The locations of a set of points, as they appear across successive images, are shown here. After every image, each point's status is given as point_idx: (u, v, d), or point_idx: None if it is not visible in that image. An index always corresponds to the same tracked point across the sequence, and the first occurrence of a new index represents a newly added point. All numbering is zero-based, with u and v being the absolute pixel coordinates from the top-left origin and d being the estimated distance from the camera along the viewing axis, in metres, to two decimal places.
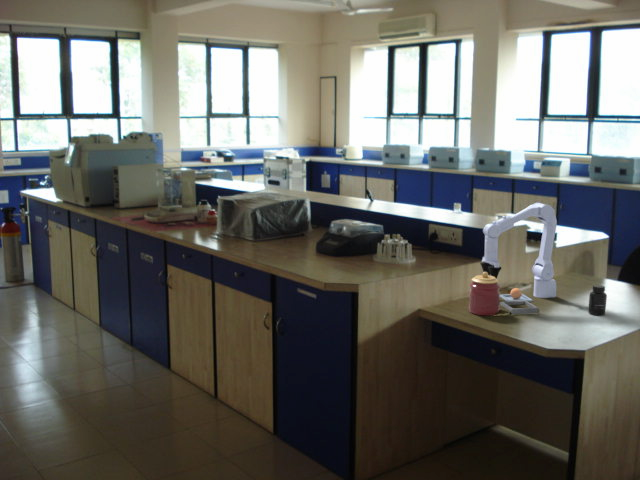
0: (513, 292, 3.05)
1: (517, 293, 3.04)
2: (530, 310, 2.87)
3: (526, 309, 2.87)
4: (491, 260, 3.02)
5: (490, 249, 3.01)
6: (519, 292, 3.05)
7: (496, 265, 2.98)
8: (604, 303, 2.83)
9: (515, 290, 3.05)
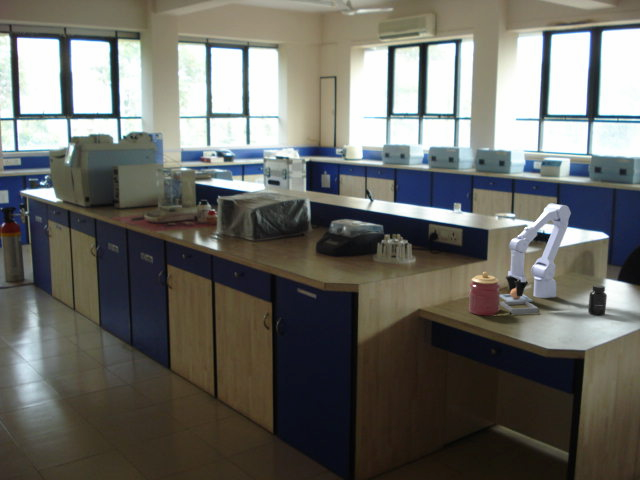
0: (513, 292, 3.05)
1: None
2: (530, 310, 2.87)
3: (526, 309, 2.87)
4: (517, 274, 3.02)
5: (518, 264, 3.02)
6: None
7: (523, 280, 2.98)
8: (604, 303, 2.83)
9: (515, 290, 3.05)
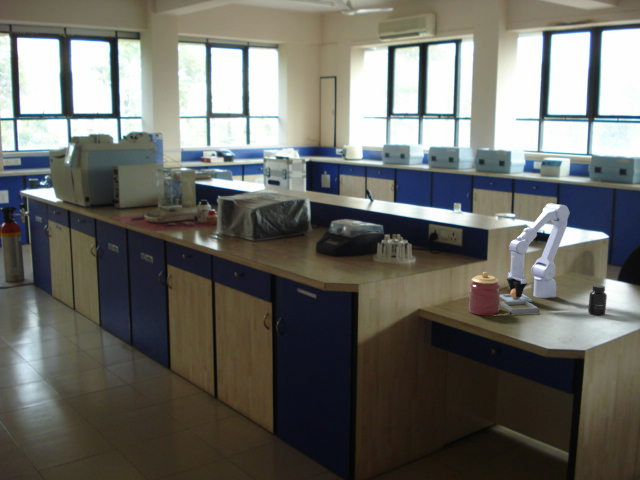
0: (513, 292, 3.05)
1: None
2: (530, 310, 2.87)
3: (526, 309, 2.87)
4: (517, 276, 3.03)
5: (518, 265, 3.02)
6: None
7: (523, 281, 2.99)
8: (604, 303, 2.83)
9: (515, 290, 3.05)
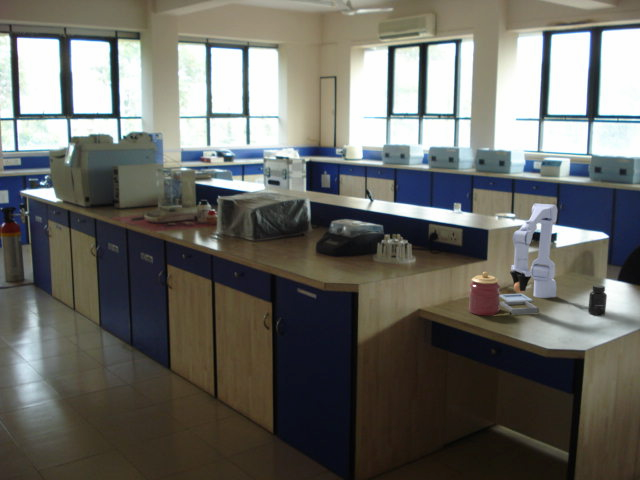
0: (517, 286, 2.90)
1: None
2: (530, 310, 2.87)
3: (526, 309, 2.87)
4: (521, 269, 2.87)
5: (525, 257, 2.86)
6: None
7: (527, 274, 2.83)
8: (604, 303, 2.83)
9: None
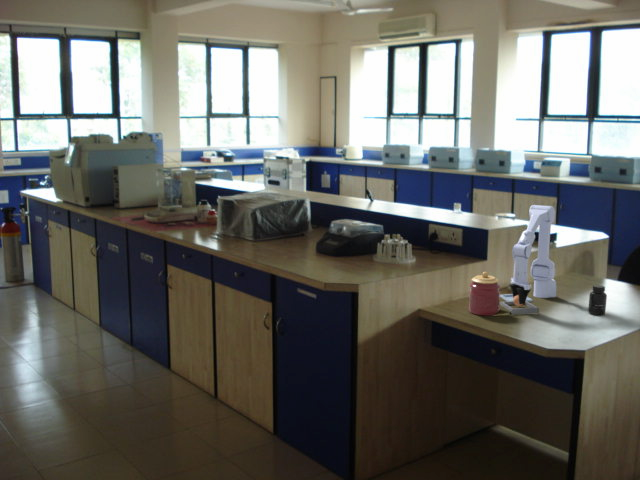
0: (516, 299, 2.91)
1: None
2: (530, 310, 2.87)
3: (526, 309, 2.87)
4: (521, 282, 2.88)
5: (524, 270, 2.87)
6: None
7: (526, 287, 2.84)
8: (604, 303, 2.83)
9: (518, 297, 2.91)
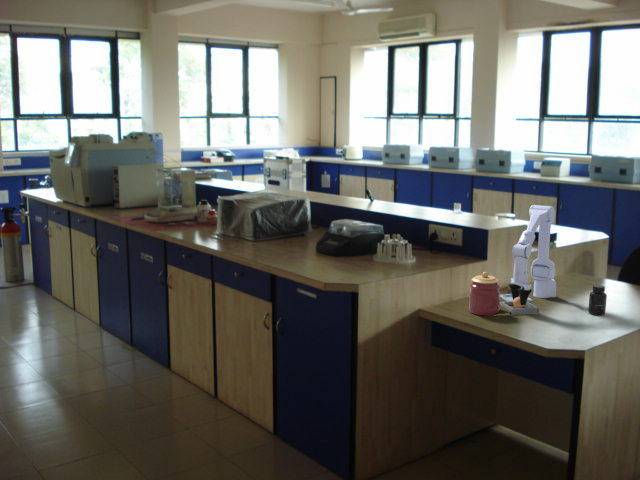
0: (516, 301, 2.91)
1: None
2: (530, 310, 2.87)
3: (526, 309, 2.87)
4: (521, 282, 2.88)
5: (524, 270, 2.87)
6: None
7: (526, 288, 2.84)
8: (604, 303, 2.83)
9: (518, 299, 2.91)
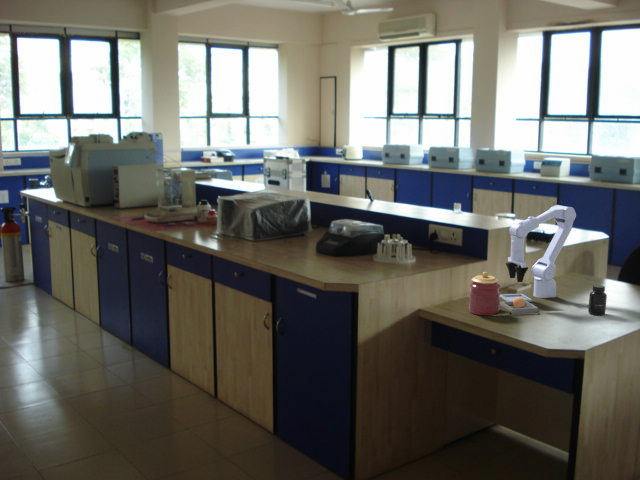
0: (516, 301, 2.91)
1: (520, 302, 2.90)
2: (530, 310, 2.87)
3: (526, 309, 2.87)
4: (518, 260, 3.01)
5: (518, 249, 3.00)
6: (522, 301, 2.90)
7: (523, 265, 2.97)
8: (604, 303, 2.83)
9: (518, 299, 2.91)
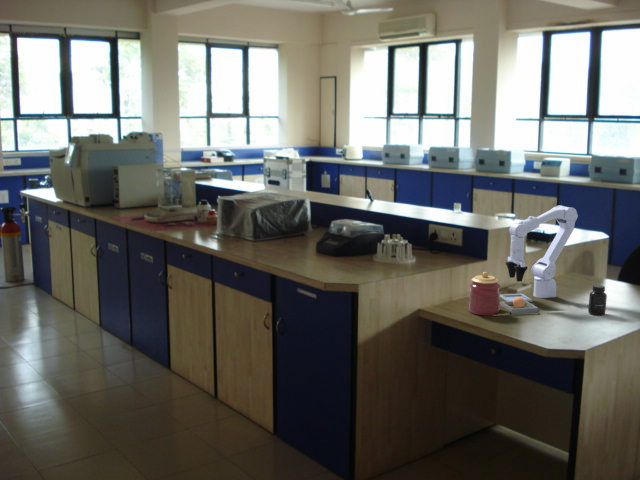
0: (516, 301, 2.91)
1: (520, 302, 2.90)
2: (530, 310, 2.87)
3: (526, 309, 2.87)
4: (517, 260, 3.02)
5: (517, 249, 3.01)
6: (522, 301, 2.91)
7: (522, 265, 2.98)
8: (604, 303, 2.83)
9: (518, 299, 2.91)
